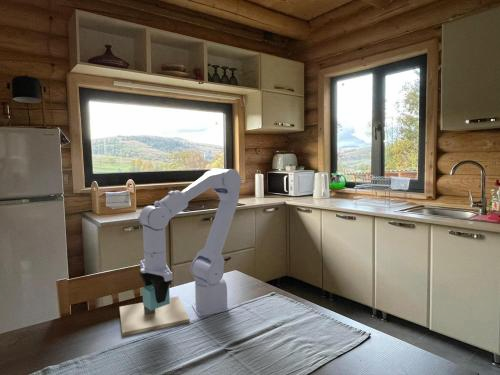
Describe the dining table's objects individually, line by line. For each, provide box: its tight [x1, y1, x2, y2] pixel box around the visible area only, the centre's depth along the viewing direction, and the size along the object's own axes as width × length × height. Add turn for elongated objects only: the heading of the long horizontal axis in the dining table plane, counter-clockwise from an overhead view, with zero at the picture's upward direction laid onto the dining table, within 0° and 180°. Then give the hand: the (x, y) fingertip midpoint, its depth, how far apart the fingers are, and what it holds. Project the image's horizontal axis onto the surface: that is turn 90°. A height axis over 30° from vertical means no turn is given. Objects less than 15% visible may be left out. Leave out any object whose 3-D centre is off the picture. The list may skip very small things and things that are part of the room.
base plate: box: [119, 296, 191, 337], centre depth 98 cm, size 18×16×5 cm
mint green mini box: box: [141, 284, 171, 310], centre depth 91 cm, size 6×4×5 cm
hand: (156, 298), depth 91 cm, fingers closed on mint green mini box, 4 cm apart
